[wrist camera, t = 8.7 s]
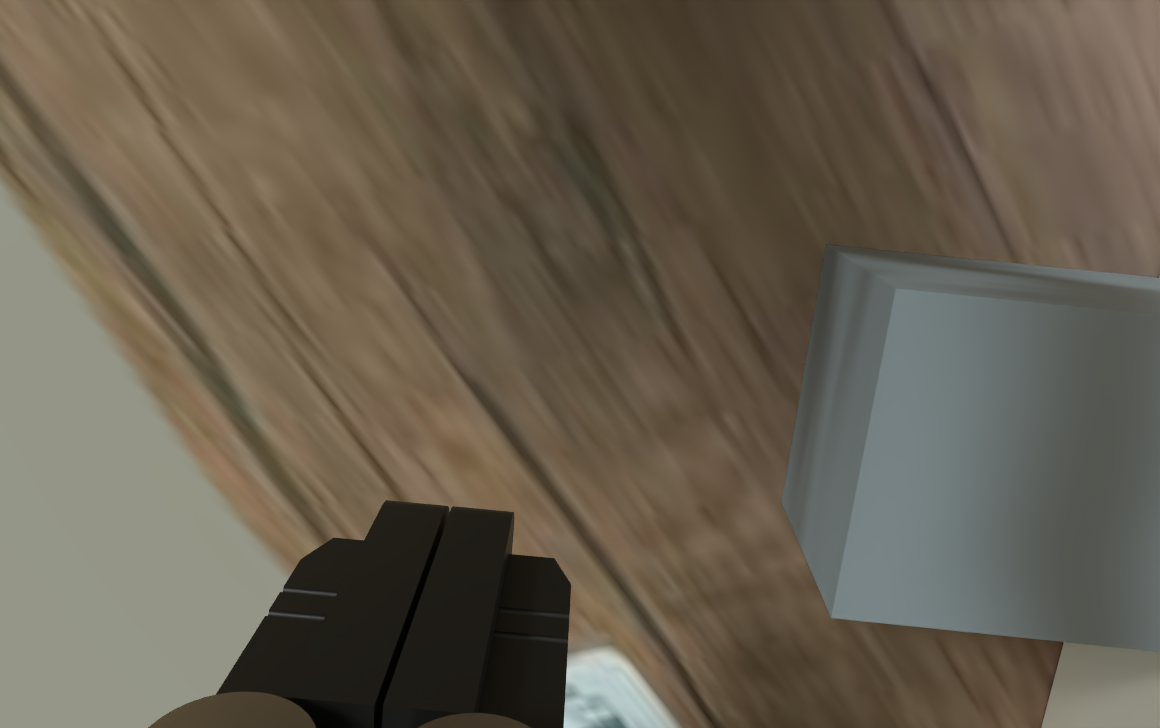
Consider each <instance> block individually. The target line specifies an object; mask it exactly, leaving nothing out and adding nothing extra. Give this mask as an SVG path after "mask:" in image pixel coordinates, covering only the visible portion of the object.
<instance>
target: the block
mask: <svg viewBox="0 0 1160 728" xmlns="http://www.w3.org/2000/svg"><path fill="white" fill-rule="evenodd" d="M782 505H783V507H784V509H785V512H786V514H787V516H788V519H789V521H790V523H791V526H792V528H793V530H794V533H795V535H796V537H797V540H798V542H799V544H800V547H801V549H802V551H803V554H804V556H805V558H806V561H807V563H808V565H809V568H810V570H811V572H812V575H813V577H814V579H815V582H816V584H817V586H818V589H819V591H820V593H821V596H822V598H823V600H824V603H825V605H826V607H827V610H828V612H829V614H830V617H831V618H836V619H846V620H855V621H865V622H875V623H884V624H894V625H904V626H914V627H923V628H933V629H943V630H952V631H962V632H972V633H981V634H991V635H1001V636H1010V637H1020V638H1030V639H1039V640H1049V641H1059V642H1069V643H1078V644H1088V645H1098V646H1107V647H1117V648H1127V649H1136V650H1146V651H1156V652H1160V278H1156V277H1147V276H1137V275H1127V274H1117V273H1107V272H1097V271H1087V270H1077V269H1067V268H1057V267H1047V266H1037V265H1027V264H1017V263H1007V262H997V261H987V260H977V259H967V258H957V257H947V256H937V255H927V254H917V253H907V252H897V251H887V250H877V249H867V248H856V247H846V246H836V245H826V247H825V253H824V259H823V264H822V270H821V276H820V282H819V288H818V293H817V299H816V305H815V311H814V317H813V323H812V328H811V334H810V340H809V346H808V352H807V357H806V363H805V369H804V375H803V381H802V386H801V392H800V398H799V404H798V410H797V416H796V421H795V427H794V433H793V439H792V445H791V450H790V456H789V462H788V468H787V474H786V479H785V485H784V491H783V497H782Z"/></svg>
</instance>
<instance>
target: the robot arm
mask: <svg viewBox="0 0 1160 728" xmlns="http://www.w3.org/2000/svg"><path fill="white" fill-rule="evenodd" d="M513 531H514V512H506V511H496V510H485V509H475V508H464V507H454V506H453V507H452V508H451V511H450V512H449V507H448V506H441V505H431V504H420V503H410V502H399V501H389V500H386V501H385V502H384V503H383V505H382V507H381V509H380V511H379V513H378V515H377V517H376V519H375V520H374V522H373V524H372V526H371V528H370V530H369V532H368V534H367V536H366V538H365V540H364V541H363V540H352V539H341V538H333V539H331V540H330V541H328V542H327V543H325V544H323V545H322V546H320V547H319V548H317V549H316V550H314V551H313V552H311V553H310V554H308V555H307V556H305V557H304V558H302V559H301V560H300V562H299V563H298V565H297V566H296V568H295V569H294V571H293V573H292V574H291V576H290V577H289V579H288V581H287V582H286V584H285V585H284V589H283V592H280V593H279V595H278V597H277V598H276V600H275V601H274V603H273V605H272V606H271V608H270V609H269V614H268V616H265V617H264V619H263V621H262V622H261V624H260V625H259V627H258V629H257V630H256V632H255V633H254V635H253V637H252V638H251V640H250V641H249V643H248V644H247V646H246V648H245V649H244V651H243V652H242V654H241V656H240V657H239V659H238V660H237V662H236V664H235V665H234V667H233V668H232V670H231V671H230V673H229V675H228V676H227V678H226V679H225V681H224V683H223V684H222V686H221V687H220V689H219V691H218V692H217V694H216V695H213V696H209V697H204V698H202V699H199V700H195V701H193V702H190V703H187V704H185V705H183V706H181V707H179V708H177V709H174V710H173V711H171V712H169V713H168V714H166V715H164V716H163V717H161V718H160V719H158V720H157V721H156V722H155V723H154V724H152V725H151V726H150V727H148V728H563V724H564V705H565V687H566V668H567V650H568V631H569V613H570V594H571V584H570V582H569V581H568V579H567V577H566V576H565V574H564V573H563V571H562V570H561V568H560V567H559V565H558V564H557V562H556V560H555V559H554V558H545V557H534V556H524V555H513V554H512V544H513Z"/></svg>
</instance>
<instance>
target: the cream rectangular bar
mask: <svg viewBox="0 0 1160 728" xmlns="http://www.w3.org/2000/svg"><path fill="white" fill-rule="evenodd" d="M1159 278H1160V277H1159ZM1041 728H1160V652H1156V651H1146V650H1136V649H1127V648H1117V647H1107V646H1098V645H1088V644H1078V643H1069V642H1064V643H1063V647H1062V651H1061V655H1060V658H1059V662H1058V666H1057V670H1056V674H1055V677H1054V681H1053V685H1052V689H1051V693H1050V696H1049V700H1048V704H1047V708H1046V712H1045V715H1044V719H1043V723H1042V727H1041Z"/></svg>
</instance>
